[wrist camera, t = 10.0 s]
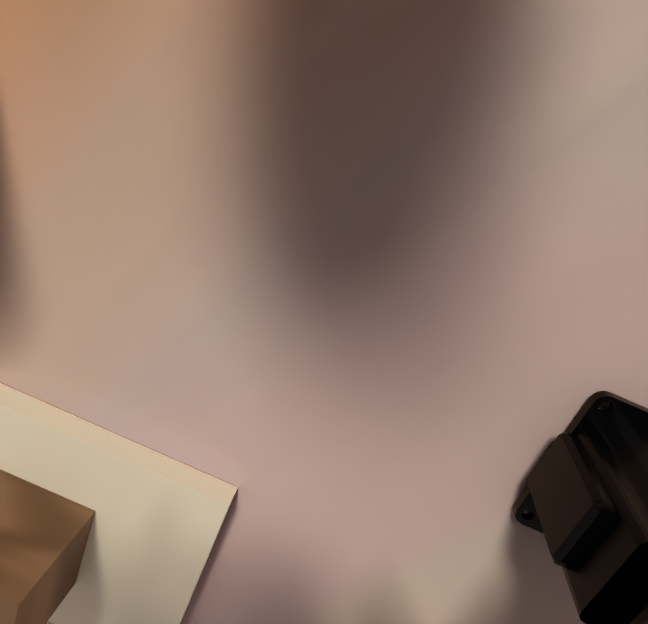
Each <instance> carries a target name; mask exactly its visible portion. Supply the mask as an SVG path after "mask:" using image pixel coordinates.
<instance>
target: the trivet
mask: <svg viewBox="0 0 648 624" xmlns="http://www.w3.org/2000/svg"><path fill="white" fill-rule="evenodd" d="M0 469H1V470H3V471H5V472H8V473H10V474H12V475H14V476H17V477H19V478H21V479H24V480H26V481H28V482H31V483H33V484H35V485H37V486H40V487H42V488H44V489H47V490H49V491H51V492H53V493H56V494H58V495H60V496H63V497H65V498H67V499H69V500H72V501H74V502H76V503H79V504H81V505H83V506H86V507H88V508H90V509H92V510H95V515H94V518H93V522H92V526H91V529H90V533H89V536H88V540H87V544H86V547H85V551H84V555H83V558H82V562H81V565H80V569H79V573H78V576H77V580H76V583H75V585H74V586H73V587H72V589H71V590H70V591H69V593H68V594H67V595H66V597H65V598H64V600H63V601H62V602H61V604H60V605H59V606H58V608H57V609H56V610H55V612H54V613H53V615H52V616H51V617H50V619H49V620H48V621H49V622H51V623H53V624H181V622H182V619H183V617H184V615H185V612H186V610H187V608H188V605H189V603H190V600H191V598H192V596H193V593H194V591H195V588H196V586H197V584H198V581H199V579H200V577H201V574H202V572H203V569H204V567H205V565H206V562H207V560H208V558H209V555H210V553H211V550H212V548H213V546H214V543H215V541H216V539H217V536H218V534H219V531H220V529H221V527H222V524H223V522H224V520H225V517H226V515H227V512H228V510H229V508H230V505H231V503H232V501H233V498H234V496H235V493H236V491H237V489H238V488H237V487H235V486H233V485H230V484H228V483H226V482H224V481H221V480H219V479H217V478H215V477H212V476H210V475H208V474H205V473H203V472H201V471H199V470H196V469H194V468H192V467H190V466H187V465H185V464H183V463H180V462H178V461H176V460H174V459H171V458H169V457H167V456H165V455H162V454H160V453H158V452H156V451H153V450H151V449H149V448H146V447H144V446H142V445H140V444H137V443H135V442H133V441H131V440H128V439H126V438H124V437H121V436H119V435H117V434H115V433H112V432H110V431H108V430H106V429H103V428H101V427H99V426H97V425H94V424H92V423H90V422H87V421H85V420H83V419H81V418H78V417H76V416H74V415H72V414H69V413H67V412H65V411H62V410H60V409H58V408H56V407H53V406H51V405H49V404H47V403H44V402H42V401H40V400H38V399H35V398H33V397H31V396H28V395H26V394H24V393H22V392H19V391H17V390H15V389H13V388H10V387H8V386H6V385H3V384H1V383H0Z"/></svg>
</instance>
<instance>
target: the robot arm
mask: <svg viewBox="0 0 648 624" xmlns="http://www.w3.org/2000/svg"><path fill="white" fill-rule="evenodd" d="M605 402H608V403H609V406H608V407H606V408H604V409H599V405H601V404H602V403H605ZM527 483H528V486H527V487H526V489H525V490H524V491H523V493H522V494H521V496H520V497H519V498H518V500H517V501H516V503H515V505H514V507H513V508H514V514H515V517H516V519H517V521H518V522H520V523H521V524H523V525H525V526H528V527H530V528H532V529H534V530H537V531H539V532H541V533H544V535H545V538H546V541H547V544H548V547H549V550H550V553H551V556H552V559H553V561H554V563H555V564H557V565H559V566H561V567H563V570H564V573H565V576H566V579H567V582H568V585H569V588H570V591H571V594H572V597H573V599H574V602H575V605H576V608H577V611H578V614H579V617H580V620H581V621H583V622H584V623H586V624H648V409H647V408H645V407H643V406H640V405H638V404H636V403H633V402H631V401H629V400H627V399H624V398H622V397H620V396H617V395H615V394H613V393H610V392H607V391H599V392H596V393H594V394H593V395H592V396H591V397H590V398H589V399H588V401H587V402H586V403H585V405H584V406H583V408H582V409H581V410H580V412H579V413H578V415H577V416H576V418H575V419H574V420H573V422H572V423H571V425H570V426H569V428H568V429H567V430H566V432H564V433H561V434H559V435H558V437H557V438H556V440H555V441H554V442H553V444H552V445H551V447H550V448H549V450H548V451H547V452H546V454H545V455H544V457H543V458H542V460H541V461H540V462H539V464H538V465H537V467H536V468H535V470H534V471H533V472H532V474H531V475H530V477H529V478H528V480H527ZM526 510H530V511H531V512H530V513H527V514H526V513H522V512H524V511H526Z"/></svg>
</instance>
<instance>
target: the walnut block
mask: <svg viewBox="0 0 648 624" xmlns="http://www.w3.org/2000/svg"><path fill="white" fill-rule="evenodd" d="M94 515H95V510H92V509H90V508H88V507H86V506H83V505H81V504H79V503H76V502H74V501H72V500H69V499H67V498H65V497H63V496H60V495H58V494H56V493H53V492H51V491H49V490H47V489H44V488H42V487H40V486H37V485H35V484H33V483H31V482H28V481H26V480H24V479H21V478H19V477H17V476H14V475H12V474H10V473H8V472H5V471H3V470H1V469H0V624H46V623H47V621H48V620H49V619H50V617H51V616H52V615H53V613H54V612H55V610H56V609H57V608H58V606H59V605H60V604H61V602H62V601H63V600H64V598H65V597H66V595H67V594H68V593H69V591H70V590H71V589H72V587H73V586H74V585H75V583H76V580H77V576H78V573H79V569H80V565H81V562H82V558H83V555H84V551H85V547H86V544H87V540H88V536H89V533H90V529H91V526H92V522H93V518H94Z"/></svg>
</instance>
